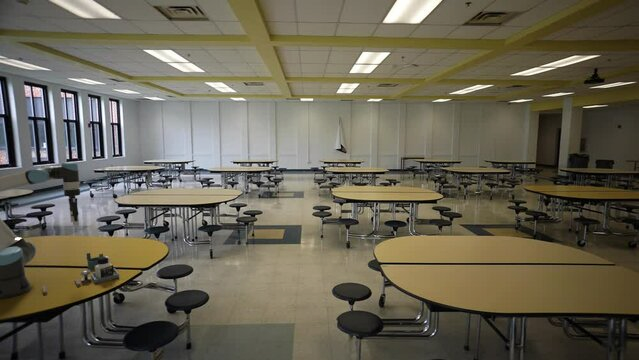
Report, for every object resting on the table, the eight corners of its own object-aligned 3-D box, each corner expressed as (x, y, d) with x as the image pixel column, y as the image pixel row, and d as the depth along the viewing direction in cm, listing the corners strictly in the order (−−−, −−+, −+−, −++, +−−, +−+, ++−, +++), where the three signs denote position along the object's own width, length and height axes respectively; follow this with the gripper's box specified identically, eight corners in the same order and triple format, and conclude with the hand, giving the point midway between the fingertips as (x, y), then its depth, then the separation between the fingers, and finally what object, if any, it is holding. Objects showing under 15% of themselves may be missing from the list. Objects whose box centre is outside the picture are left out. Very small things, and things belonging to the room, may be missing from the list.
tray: (94, 283, 192) (94, 279, 191) (91, 277, 201) (91, 273, 200) (119, 278, 200) (118, 274, 199) (114, 271, 209) (114, 268, 208)
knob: (82, 282, 193) (81, 273, 193) (80, 280, 197) (80, 271, 196) (91, 280, 196) (90, 271, 196) (90, 278, 200) (89, 269, 199)
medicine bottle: (101, 280, 195) (99, 260, 194) (95, 277, 199) (93, 257, 197) (114, 276, 201) (112, 256, 199) (108, 273, 205) (106, 254, 203)
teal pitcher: (104, 267, 216) (103, 254, 215) (86, 270, 211) (85, 256, 210) (104, 263, 223) (103, 250, 222) (87, 265, 219) (86, 252, 218)
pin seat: (43, 294, 178) (43, 292, 178) (42, 288, 186) (42, 285, 186) (80, 285, 189) (80, 283, 189) (78, 280, 196) (78, 277, 196)
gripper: (82, 190, 190) (85, 227, 193) (77, 185, 209) (80, 219, 212) (65, 192, 185) (69, 229, 188) (62, 186, 204) (65, 221, 207)
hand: (74, 224), depth 200 cm, fingers open, 13 cm apart
